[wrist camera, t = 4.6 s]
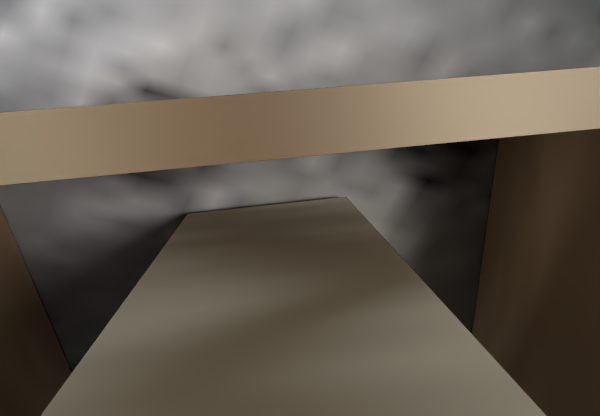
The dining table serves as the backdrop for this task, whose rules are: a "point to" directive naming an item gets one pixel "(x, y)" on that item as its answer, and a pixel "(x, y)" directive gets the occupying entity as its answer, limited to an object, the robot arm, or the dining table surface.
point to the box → (285, 328)
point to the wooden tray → (350, 138)
